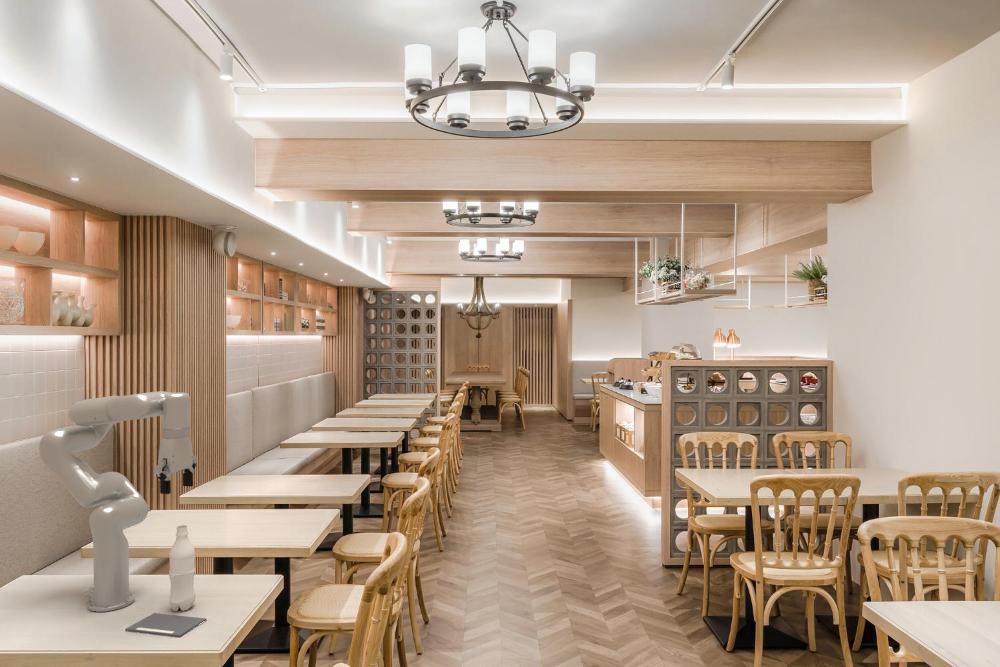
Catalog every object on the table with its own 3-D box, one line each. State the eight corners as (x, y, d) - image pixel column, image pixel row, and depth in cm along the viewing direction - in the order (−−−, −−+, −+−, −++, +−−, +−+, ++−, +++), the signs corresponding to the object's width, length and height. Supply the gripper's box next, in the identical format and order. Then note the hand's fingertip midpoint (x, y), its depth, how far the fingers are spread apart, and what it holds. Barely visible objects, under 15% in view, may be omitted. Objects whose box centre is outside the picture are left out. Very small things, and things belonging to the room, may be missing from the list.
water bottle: (184, 614, 197) (184, 530, 197) (164, 612, 199) (163, 529, 199) (200, 604, 204) (200, 524, 204) (180, 602, 206) (179, 522, 206)
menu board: (125, 631, 186) (125, 628, 186) (154, 614, 197) (154, 612, 197) (180, 637, 182) (180, 635, 182) (206, 620, 193) (206, 618, 193)
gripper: (185, 429, 209) (185, 483, 209) (144, 437, 192) (145, 496, 192) (206, 429, 207) (206, 484, 207) (166, 438, 190) (167, 497, 190)
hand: (176, 489), depth 200 cm, fingers open, 9 cm apart
